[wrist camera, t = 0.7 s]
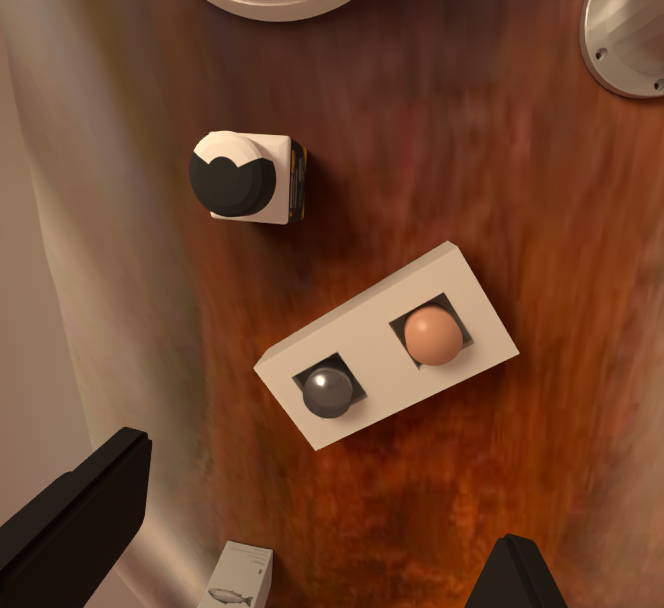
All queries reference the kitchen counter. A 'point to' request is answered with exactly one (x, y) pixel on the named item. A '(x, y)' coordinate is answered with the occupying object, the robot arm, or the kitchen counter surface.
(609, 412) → the kitchen counter surface
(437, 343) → the light brown rounded piece
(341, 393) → the charcoal button
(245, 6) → the dome cover
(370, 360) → the button console
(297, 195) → the medicine bottle
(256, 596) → the supplement box
